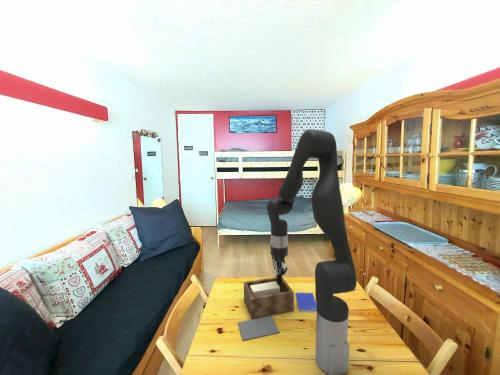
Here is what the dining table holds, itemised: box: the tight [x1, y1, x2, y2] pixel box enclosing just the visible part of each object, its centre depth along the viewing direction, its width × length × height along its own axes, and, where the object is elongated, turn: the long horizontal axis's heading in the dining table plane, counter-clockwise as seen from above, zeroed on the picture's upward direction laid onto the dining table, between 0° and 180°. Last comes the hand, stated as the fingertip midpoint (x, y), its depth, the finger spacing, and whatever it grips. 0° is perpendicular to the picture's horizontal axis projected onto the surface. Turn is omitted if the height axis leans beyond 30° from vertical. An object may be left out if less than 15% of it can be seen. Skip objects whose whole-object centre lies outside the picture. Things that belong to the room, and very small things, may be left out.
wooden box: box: [243, 276, 295, 320], centre depth 100 cm, size 18×13×9 cm
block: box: [250, 281, 280, 297], centre depth 100 cm, size 12×5×5 cm, turn 104°
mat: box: [237, 315, 281, 342], centre depth 87 cm, size 9×14×1 cm, turn 104°
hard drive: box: [294, 292, 317, 313], centre depth 102 cm, size 2×8×12 cm
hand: (279, 281), depth 101 cm, fingers closed
